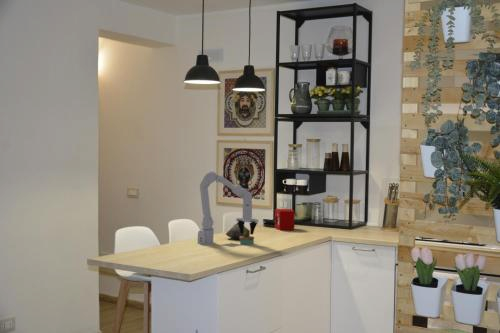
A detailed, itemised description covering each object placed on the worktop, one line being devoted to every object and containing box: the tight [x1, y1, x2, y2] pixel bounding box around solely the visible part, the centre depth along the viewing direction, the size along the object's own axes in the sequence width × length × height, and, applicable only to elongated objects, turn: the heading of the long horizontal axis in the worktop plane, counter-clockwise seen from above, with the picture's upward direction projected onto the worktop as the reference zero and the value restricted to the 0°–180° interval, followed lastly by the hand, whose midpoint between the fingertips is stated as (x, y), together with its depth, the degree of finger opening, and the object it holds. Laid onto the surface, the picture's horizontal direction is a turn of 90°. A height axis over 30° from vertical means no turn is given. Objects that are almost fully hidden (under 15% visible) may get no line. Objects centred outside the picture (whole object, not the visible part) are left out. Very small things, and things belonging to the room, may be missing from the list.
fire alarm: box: [274, 208, 295, 232], centre depth 451 cm, size 16×11×15 cm
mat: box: [222, 243, 242, 248], centre depth 369 cm, size 10×10×1 cm
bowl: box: [239, 238, 255, 246], centre depth 375 cm, size 8×8×4 cm
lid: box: [239, 229, 255, 240], centre depth 374 cm, size 9×9×5 cm
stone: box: [225, 223, 249, 241], centre depth 395 cm, size 18×10×15 cm
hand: (246, 233), depth 375 cm, fingers open, 6 cm apart
